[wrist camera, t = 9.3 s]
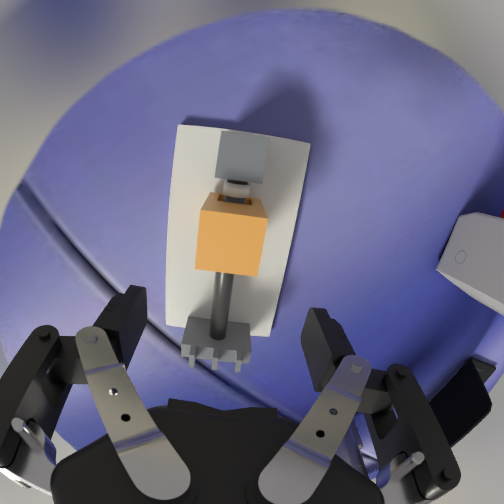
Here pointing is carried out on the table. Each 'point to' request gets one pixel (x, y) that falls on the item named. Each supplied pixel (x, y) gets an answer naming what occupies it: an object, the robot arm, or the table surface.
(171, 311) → the cord rig
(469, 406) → the laptop
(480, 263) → the electrical switch box
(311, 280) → the table surface
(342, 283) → the table surface
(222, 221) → the sleeve
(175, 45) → the table surface
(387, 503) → the robot arm
